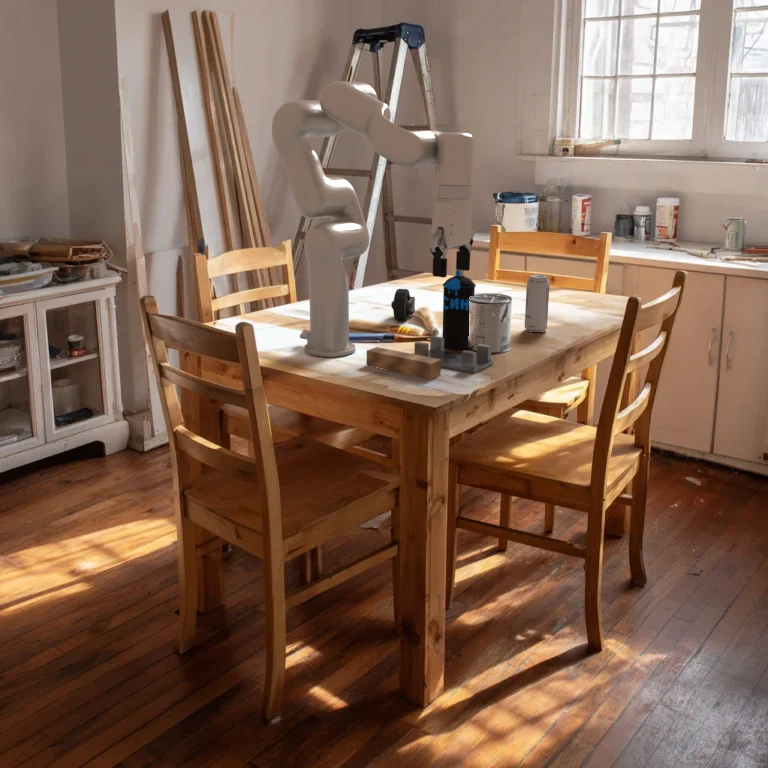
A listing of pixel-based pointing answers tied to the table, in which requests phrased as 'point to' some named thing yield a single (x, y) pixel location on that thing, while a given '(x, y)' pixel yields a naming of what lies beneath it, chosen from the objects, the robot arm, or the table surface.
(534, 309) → the energy drink can
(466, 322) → the aerosol can
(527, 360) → the table surface
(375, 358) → the rail
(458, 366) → the cradle
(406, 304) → the caster wheel
